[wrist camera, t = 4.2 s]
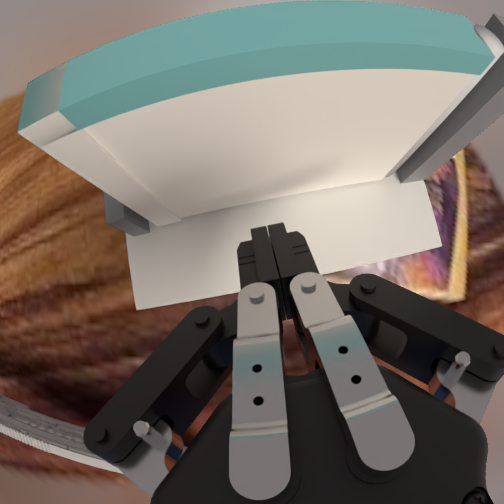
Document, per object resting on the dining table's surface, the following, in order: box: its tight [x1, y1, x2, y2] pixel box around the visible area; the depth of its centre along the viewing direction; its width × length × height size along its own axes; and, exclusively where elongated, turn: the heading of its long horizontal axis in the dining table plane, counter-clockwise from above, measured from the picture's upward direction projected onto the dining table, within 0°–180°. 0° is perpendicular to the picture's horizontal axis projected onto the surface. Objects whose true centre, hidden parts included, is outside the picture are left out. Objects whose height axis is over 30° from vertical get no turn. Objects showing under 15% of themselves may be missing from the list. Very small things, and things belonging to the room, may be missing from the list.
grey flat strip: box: [0, 393, 187, 474], centre depth 17 cm, size 2×30×8 cm, turn 84°
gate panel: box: [17, 0, 504, 226], centre depth 13 cm, size 16×2×13 cm, turn 101°
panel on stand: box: [104, 14, 504, 310], centre depth 14 cm, size 21×15×15 cm
